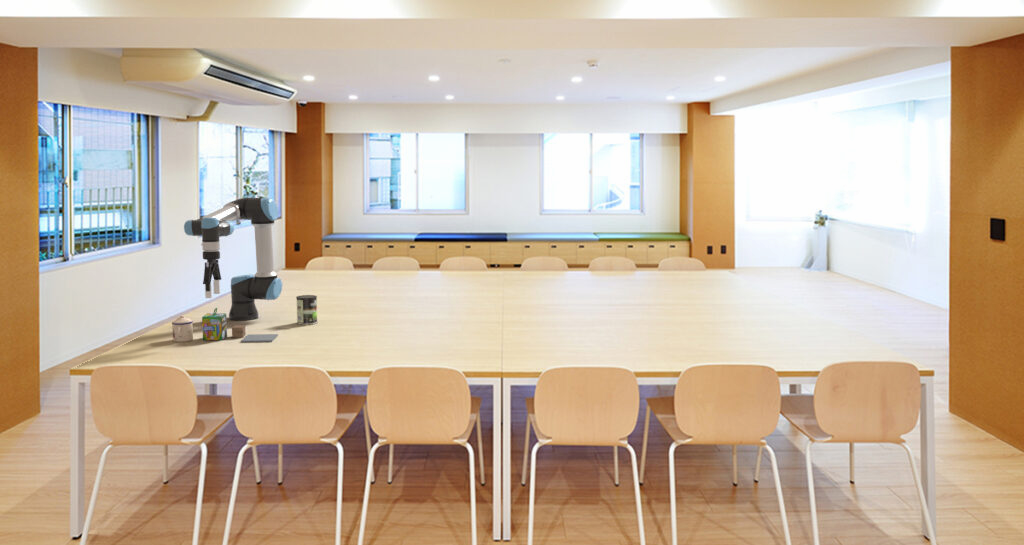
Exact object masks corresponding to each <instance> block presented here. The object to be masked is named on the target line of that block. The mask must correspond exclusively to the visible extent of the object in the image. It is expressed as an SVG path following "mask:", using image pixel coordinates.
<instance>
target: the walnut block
mask: <svg viewBox="0 0 1024 545" xmlns="http://www.w3.org/2000/svg"><path fill="white" fill-rule="evenodd" d="M246 332H247V331H246V325H234V326H232V327H231V338H232V337H243V338H245V337H246V336H247V335H246ZM245 335H246V336H245ZM244 336H245V337H244Z"/></svg>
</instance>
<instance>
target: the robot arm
mask: <svg viewBox="0 0 1024 545" xmlns="http://www.w3.org/2000/svg"><path fill="white" fill-rule="evenodd" d="M278 218H279V207H278V204H277V202H276V201H275V200H274V199H273V198H270V197H242V198H238V199H235V200H232V201H230V202H227V203H225V204H224V205H223V207H222V208H219V209H217V210H215V211H213V212H211V213H209V214H206V215H204V216H202V217H200V218H198V219H188V220H186V221H185V222H184V225H183V230H184V233H185V234H186V235H187V236H192V237H202V240H201V241H202V242H201V246H202V259H203V260H205V261H206V262H204V272H203V280H202V284H203V285H204V294H205V299H212V298H213V295H219V294H221V287H220V286H221V280H222V275H221V270H220V265H219V259H221V252H220V250H221V248H220V247H221V246H220V244H221V243H220V238H221V237H228V236H230V235H232V234H233V232H234V230H235V225H234V224H233V222H235V221H238V220H244V221H245V220H246V221H247V220H248V221H250V224H251V225H252V226H253V227H254V241H255V242H254V243H255V258H256V273H255V274H244V275H237V276H232V278H231V279H230V292H231V293H230V294H231V295H230V296H231V306H230V310H229V313H228V320H230V321H250V320H251V319H252V320H256V319H258V318H259V312H258V309H257V307H256V302H255V300H262V301H263V300H264V301H266V300H267V301H270V300H271V301H273V300H274V301H275V300H277V299H278V298H279V297H280V295H281V293H282V290H283V281H282V279H281V278H279V277H278V274H277V272H276V271H275V268H274V266H275V263H274V247H273V245H274V243H273V230H272V229H273V226H274V224H275V221H276V220H277V219H278ZM212 278H213V280H212ZM212 281H213V283H212ZM212 287H213V288H212ZM212 290H213V292H212Z"/></svg>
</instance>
